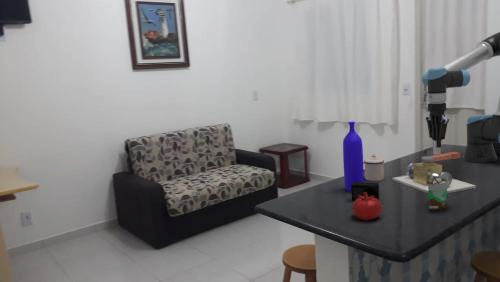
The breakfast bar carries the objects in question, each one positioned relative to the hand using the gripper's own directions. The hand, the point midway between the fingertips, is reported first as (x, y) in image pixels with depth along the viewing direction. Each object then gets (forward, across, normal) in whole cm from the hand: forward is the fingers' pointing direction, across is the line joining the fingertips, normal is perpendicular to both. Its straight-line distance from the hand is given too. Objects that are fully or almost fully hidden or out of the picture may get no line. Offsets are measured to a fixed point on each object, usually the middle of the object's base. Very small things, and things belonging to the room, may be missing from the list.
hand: (437, 154), depth 180 cm
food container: (+11, +34, -24) cm, 43 cm away
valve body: (+9, +9, -11) cm, 17 cm away
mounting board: (+11, +9, -9) cm, 17 cm away
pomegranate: (+11, +33, -52) cm, 63 cm away
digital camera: (+11, +17, -45) cm, 49 cm away
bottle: (+11, +2, -42) cm, 43 cm away
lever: (0, +8, -5) cm, 10 cm away
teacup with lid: (+11, -11, -27) cm, 31 cm away
